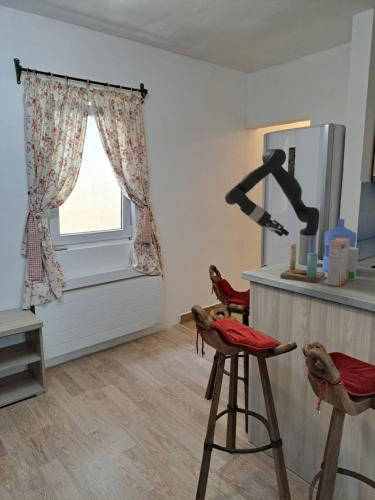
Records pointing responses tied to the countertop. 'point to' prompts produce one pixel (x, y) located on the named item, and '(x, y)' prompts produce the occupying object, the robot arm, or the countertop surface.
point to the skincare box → (352, 263)
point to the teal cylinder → (311, 265)
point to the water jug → (334, 234)
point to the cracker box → (338, 261)
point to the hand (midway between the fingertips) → (285, 234)
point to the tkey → (294, 260)
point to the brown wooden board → (301, 276)
